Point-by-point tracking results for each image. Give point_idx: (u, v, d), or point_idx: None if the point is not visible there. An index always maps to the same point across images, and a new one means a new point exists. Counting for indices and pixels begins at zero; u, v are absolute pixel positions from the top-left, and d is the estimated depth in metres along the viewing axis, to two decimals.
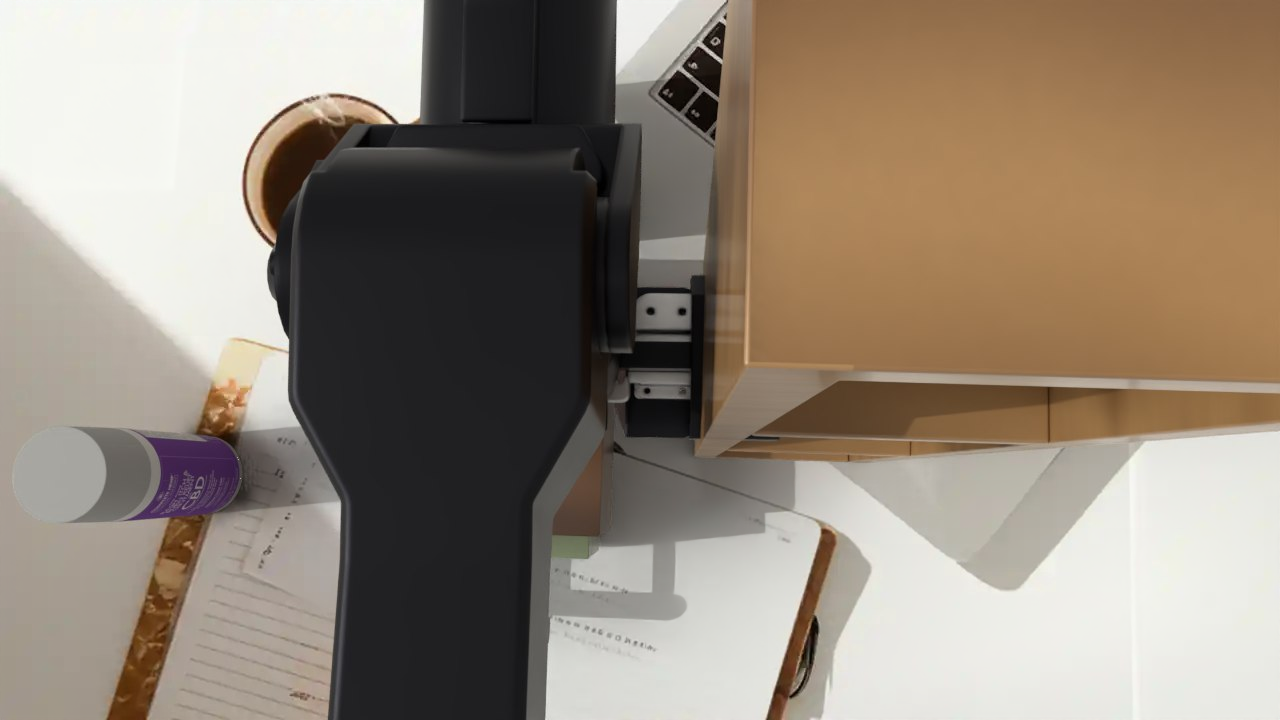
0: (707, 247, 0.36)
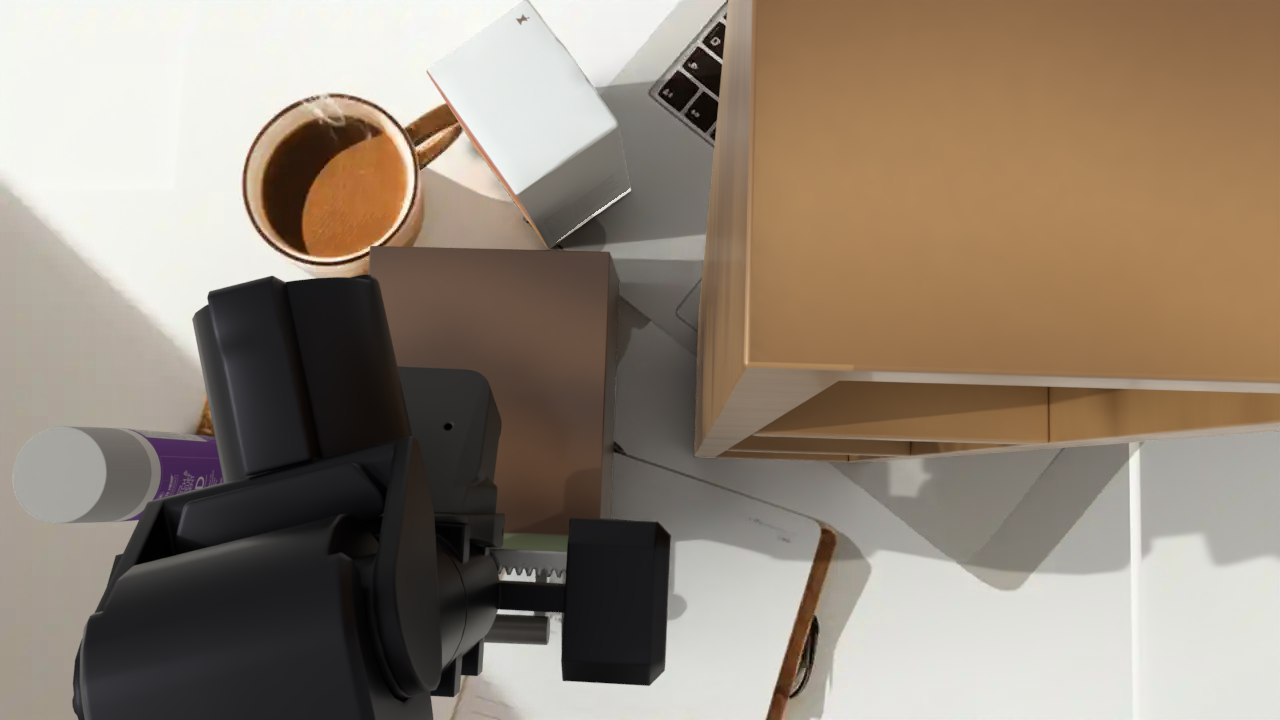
0: (707, 247, 0.36)
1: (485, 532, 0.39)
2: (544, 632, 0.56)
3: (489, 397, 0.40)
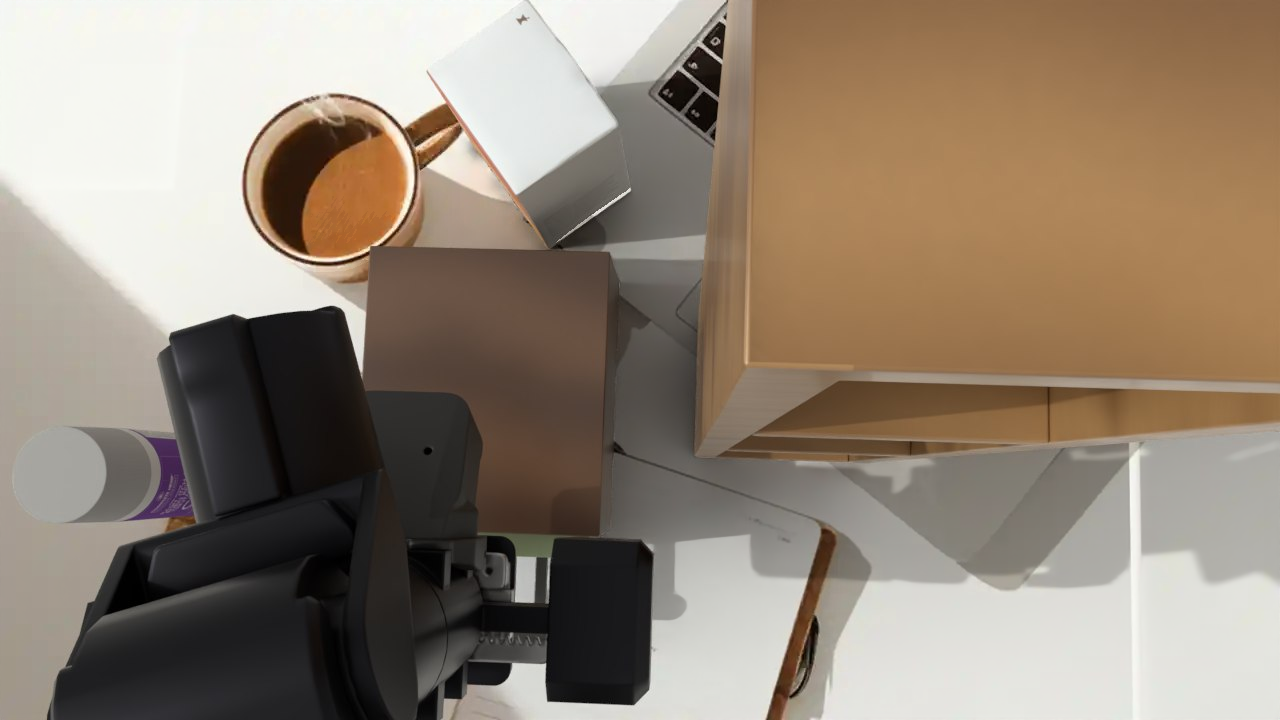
0: (707, 247, 0.36)
1: (466, 557, 0.39)
2: None
3: (469, 420, 0.40)
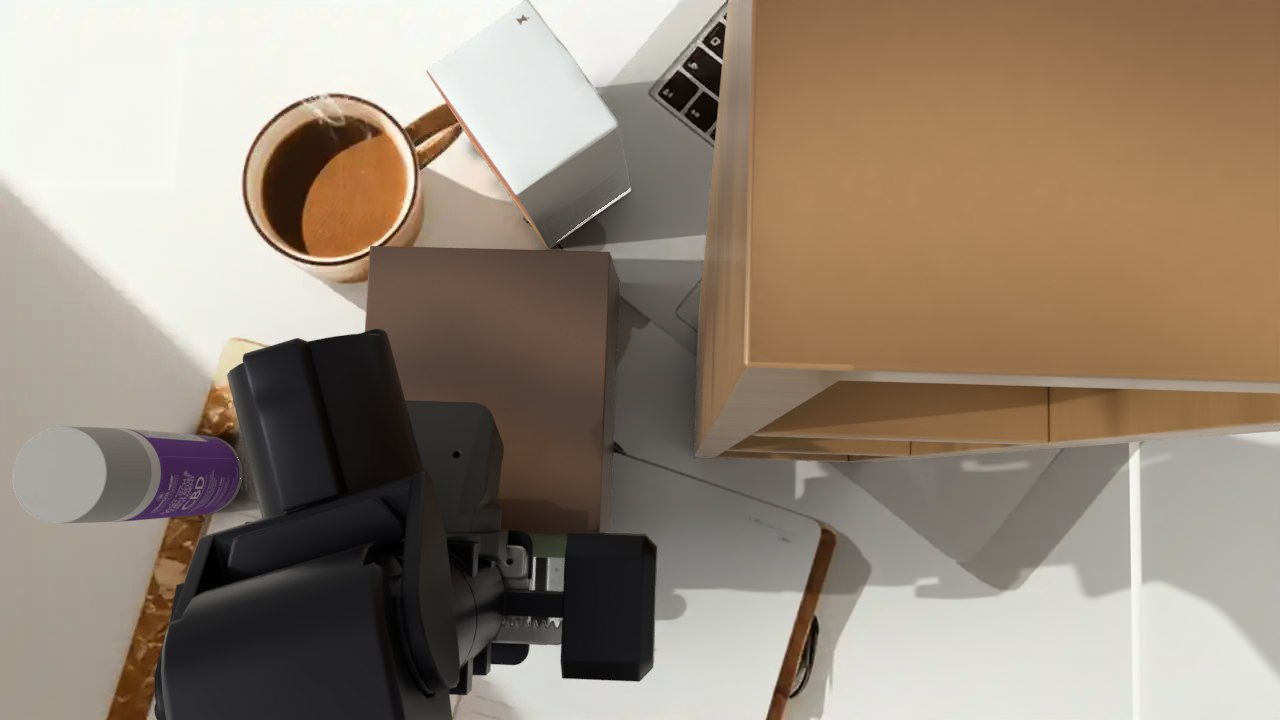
0: (707, 247, 0.36)
1: (491, 548, 0.44)
2: None
3: (492, 427, 0.45)
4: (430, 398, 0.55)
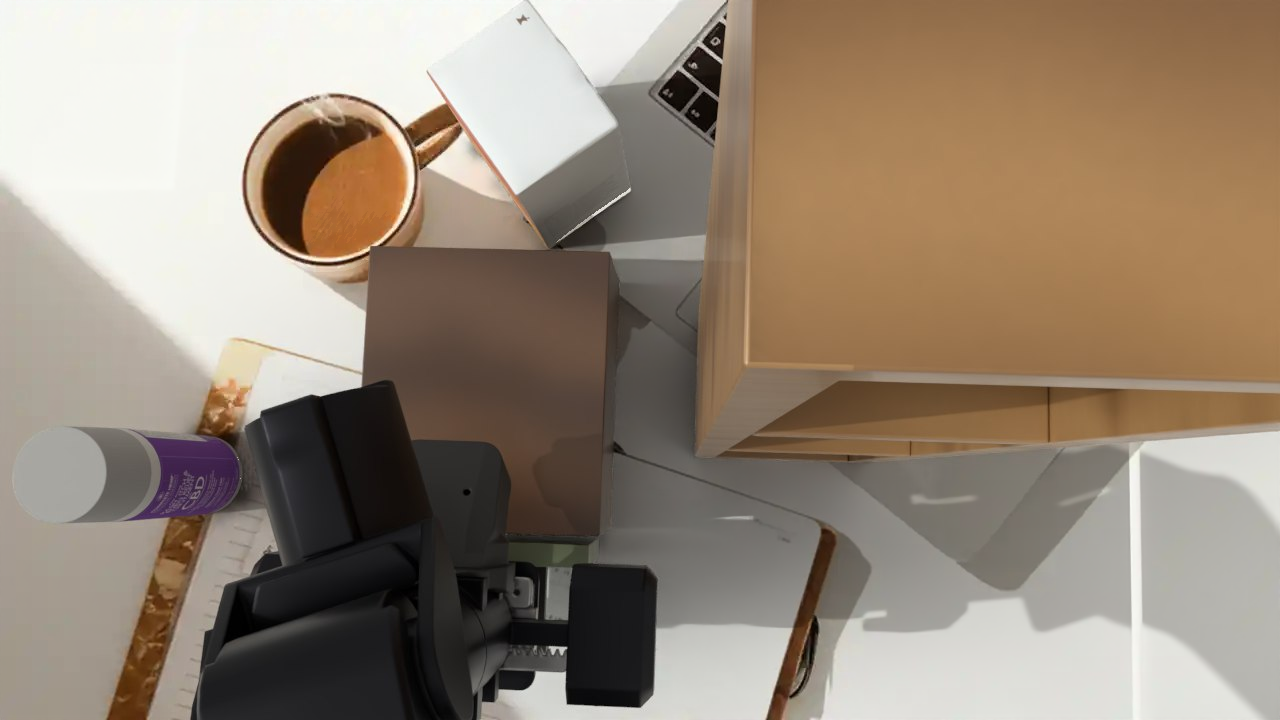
0: (707, 247, 0.36)
1: (499, 582, 0.46)
2: None
3: (501, 466, 0.47)
4: (430, 398, 0.55)
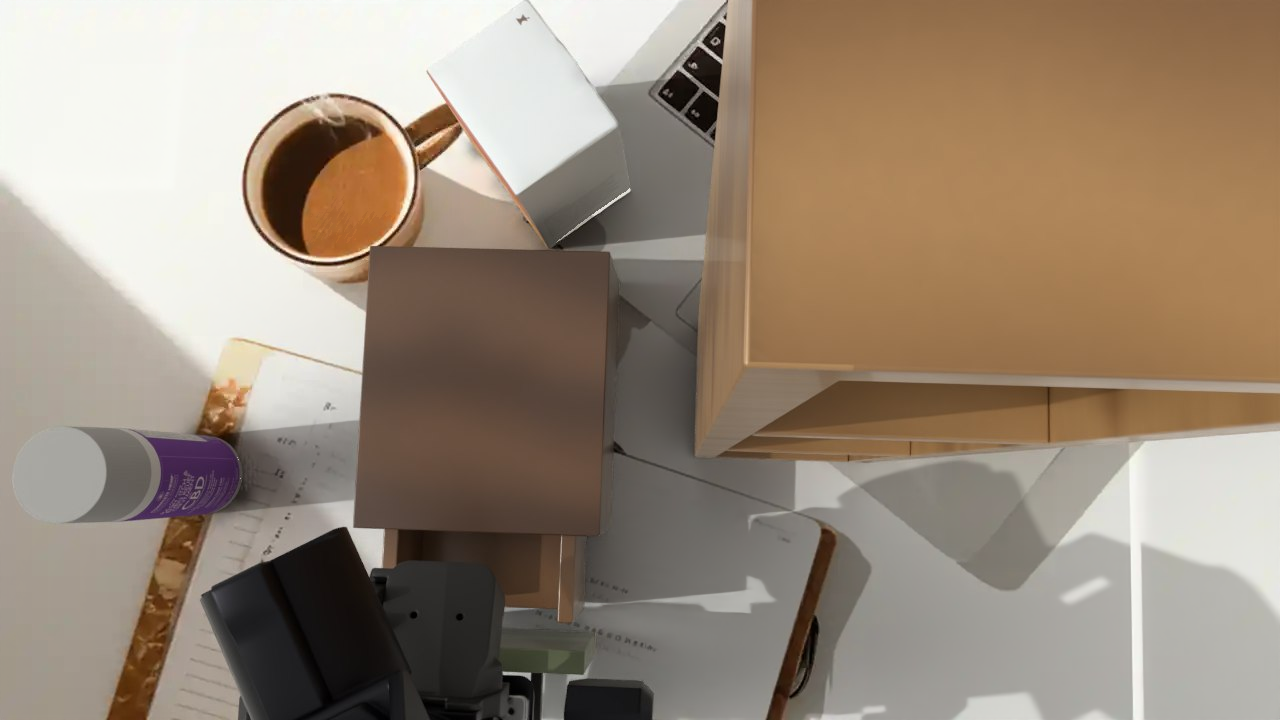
0: (707, 247, 0.36)
1: (493, 710, 0.45)
2: None
3: (494, 588, 0.47)
4: (430, 398, 0.55)
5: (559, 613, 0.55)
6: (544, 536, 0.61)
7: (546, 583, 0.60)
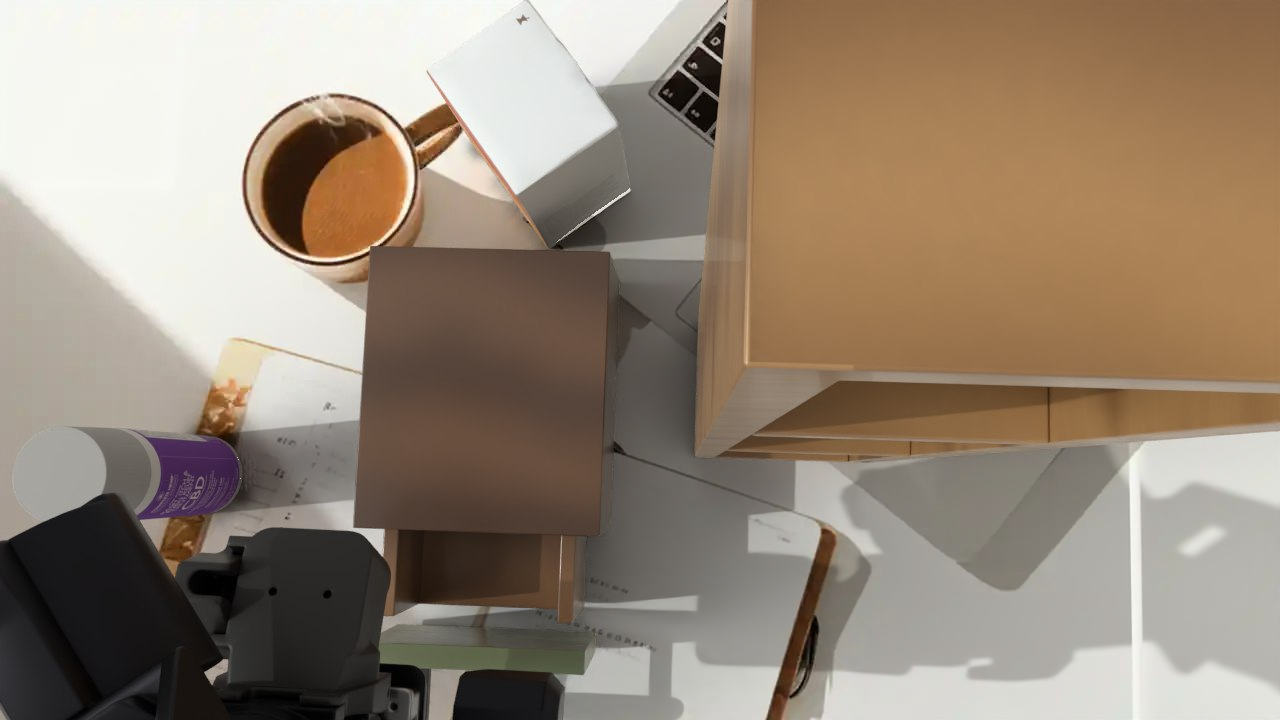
0: (707, 247, 0.36)
1: (363, 705, 0.38)
2: None
3: (371, 561, 0.39)
4: (430, 398, 0.55)
5: (559, 613, 0.55)
6: (544, 536, 0.61)
7: (546, 583, 0.60)
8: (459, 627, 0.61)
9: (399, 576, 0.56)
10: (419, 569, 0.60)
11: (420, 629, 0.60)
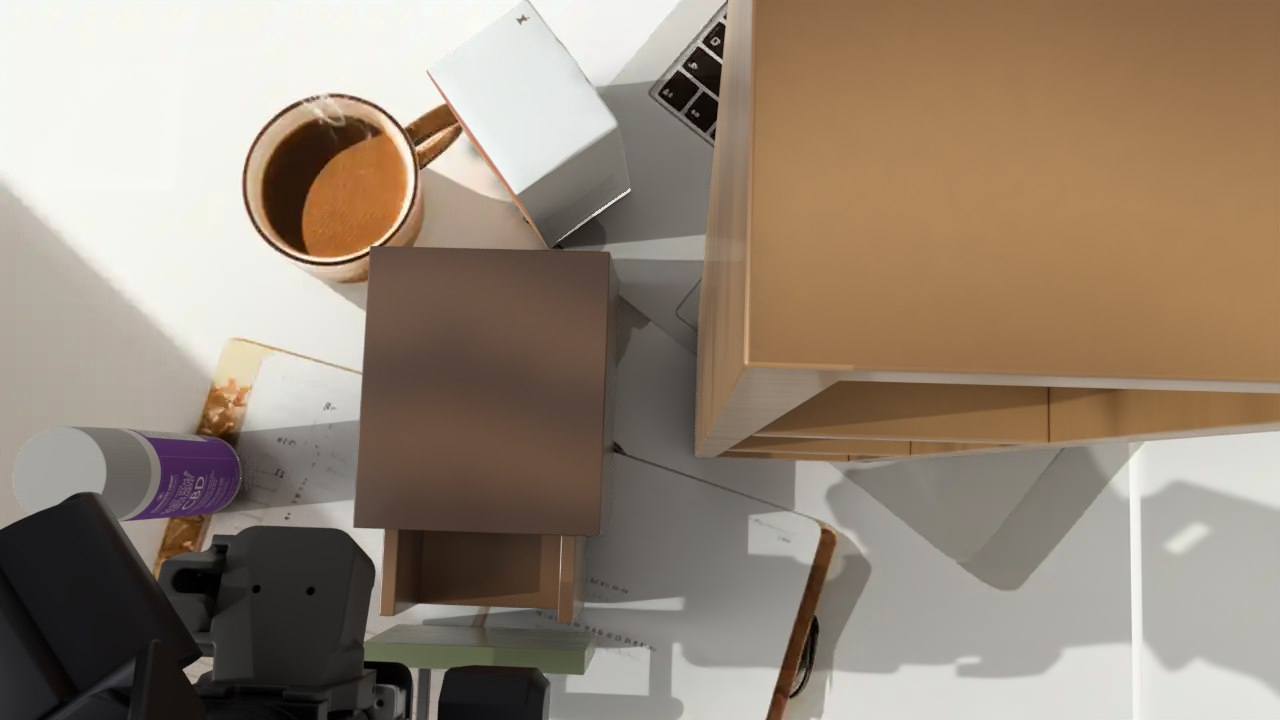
0: (707, 247, 0.36)
1: (347, 701, 0.38)
2: None
3: (354, 558, 0.40)
4: (430, 398, 0.55)
5: (559, 613, 0.55)
6: (544, 536, 0.61)
7: (546, 583, 0.60)
8: (459, 627, 0.61)
9: (399, 576, 0.56)
10: (419, 569, 0.60)
11: (420, 629, 0.60)
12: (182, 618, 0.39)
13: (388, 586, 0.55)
